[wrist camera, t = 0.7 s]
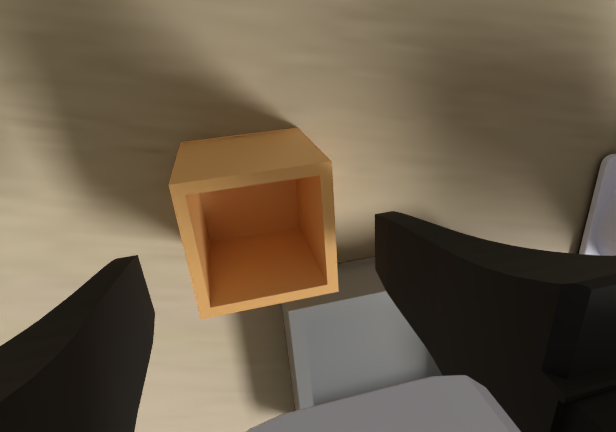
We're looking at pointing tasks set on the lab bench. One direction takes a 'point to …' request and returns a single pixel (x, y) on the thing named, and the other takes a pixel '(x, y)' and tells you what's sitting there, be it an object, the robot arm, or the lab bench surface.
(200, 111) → the lab bench surface
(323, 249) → the small crate
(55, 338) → the robot arm
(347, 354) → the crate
